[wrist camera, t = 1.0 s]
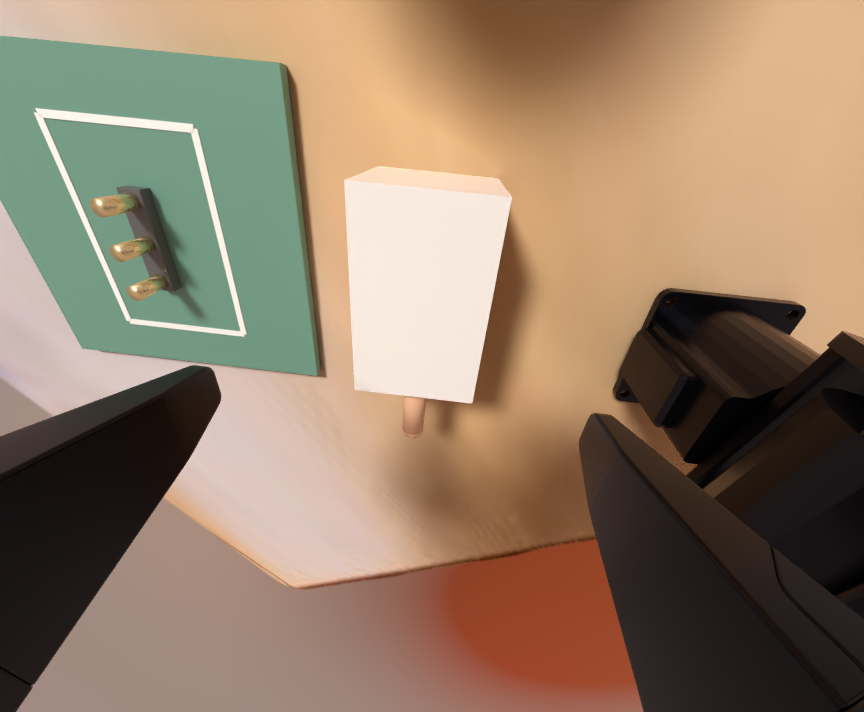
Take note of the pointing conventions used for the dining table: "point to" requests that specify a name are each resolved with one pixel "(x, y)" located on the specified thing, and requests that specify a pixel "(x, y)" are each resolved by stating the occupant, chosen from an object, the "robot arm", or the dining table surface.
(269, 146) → the pin board
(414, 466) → the dining table surface
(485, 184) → the block
